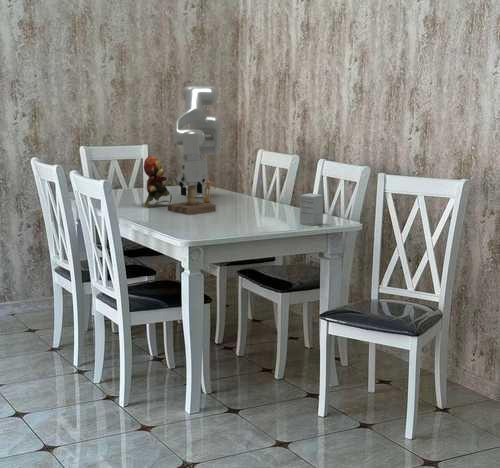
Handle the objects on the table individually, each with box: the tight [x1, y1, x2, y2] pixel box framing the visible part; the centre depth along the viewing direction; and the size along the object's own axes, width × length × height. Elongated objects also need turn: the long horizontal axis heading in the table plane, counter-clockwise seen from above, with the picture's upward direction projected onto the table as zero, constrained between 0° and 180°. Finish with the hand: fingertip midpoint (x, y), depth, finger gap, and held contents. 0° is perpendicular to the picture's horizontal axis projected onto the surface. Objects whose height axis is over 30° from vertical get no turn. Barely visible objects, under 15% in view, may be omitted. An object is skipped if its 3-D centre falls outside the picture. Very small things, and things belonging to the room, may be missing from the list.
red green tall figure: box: [143, 155, 172, 208], centre depth 400 cm, size 15×17×25 cm
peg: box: [187, 184, 197, 206], centre depth 386 cm, size 4×4×12 cm
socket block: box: [167, 201, 217, 216], centre depth 387 cm, size 16×16×3 cm
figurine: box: [202, 178, 217, 204], centre depth 411 cm, size 8×6×12 cm
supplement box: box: [299, 192, 324, 226], centre depth 353 cm, size 7×7×13 cm
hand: (191, 194), depth 386 cm, fingers open, 9 cm apart
